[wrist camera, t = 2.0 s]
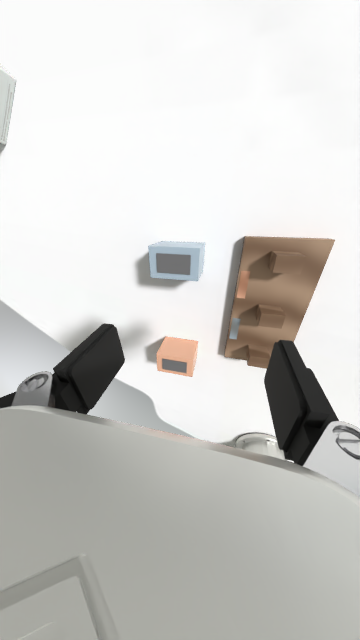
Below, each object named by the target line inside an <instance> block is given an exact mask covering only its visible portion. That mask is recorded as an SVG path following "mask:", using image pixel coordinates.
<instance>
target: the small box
mask: <svg viewBox="0 0 360 640" xmlns="http://www.w3.org/2000/svg"><path fill="white" fill-rule="evenodd" d="M15 85H16V79H15V78H14V77H13V76H12V75H11V74H10V73H9V72H8V71H7V70H6V69H5V68H4V67H3V66H2V65H1V64H0V143H2V144H5V145H6V142H7V136H8V129H9V123H10V117H11V110H12V104H13V97H14V91H15Z"/></svg>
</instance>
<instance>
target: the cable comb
mask: <svg viewBox="0 0 360 640" xmlns="http://www.w3.org/2000/svg"><path fill="white" fill-rule="evenodd" d="M334 241H335V240H333V239H322V238H288V237H254V236H245V238H244V243H243V249H242V255H241V261H240V266H239V272H238V278H237V284H236V290H235V295H234V301H233V307H232V313H231V318H230V324H229V330H228V336H227V342H226V347H225V357H229V358H235V359H242V360H247V364H248V366H254V367H260V368H266V369H267V367H268V364H269V360H270V357H271V353H272V350H273V346H274V343H275V342H278V341H279V340H289V341H293V342H294V340H295V337H296V335H297V332H298V330H299V327H300V325H301V323H302V320H303V318H304V315H305V313H306V310H307V308H308V305H309V303H310V300H311V298H312V296H313V293H314V291H315V288H316V286H317V283H318V281H319V278H320V276H321V273H322V271H323V269H324V266H325V264H326V261H327V259H328V256H329V254H330V251H331V249H332V246H333V244H334Z"/></svg>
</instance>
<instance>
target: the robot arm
mask: <svg viewBox="0 0 360 640" xmlns="http://www.w3.org/2000/svg"><path fill="white" fill-rule="evenodd" d="M124 361H125V358H124V354H123V351H122V347H121V343H120V339H119V336H118V332H117V329H116V327H114V325H112V324H102V325H101V326H100V327H99V328H98V329H97V330H96V331H95V332H93V333H92V334H91V335H90V336H89V337H88V338H87V339H86V340H84V341H83V342H82V343H81V344H80V345H79V346H78V347H77V348H75V349H74V350H73V351H72V352H71V353H70V354H69V355H68V356H67V357H65V358H64V359H63V360H62V361H61V362H60V363H59V364H58V365H56V366H55V367H54V368H53V370H54V372H55V373H54V374H51V373H50V372H47V371H45V372H39V373H36V374H33V375H31V376H30V377H28V378H26V379H25V380H24V381H23V382H22V383H21V384H20V385H19V387H18V388H17V391H16V392H14V393H11V394H9V395H6V396H4V397H1V398H0V640H360V429H359V428H358V427H356V426H354V425H352V424H349V423H346V422H342V421H339V420H338V418H337V416H336V414H335V412H334V411H333V409H332V407H331V405H330V403H329V401H328V399H327V398H326V396H325V394H324V392H323V390H322V388H321V386H320V384H319V383H318V381H317V379H316V377H315V375H314V373H313V372H312V370H311V369H309V368H306V366H305V364H304V362H303V360H302V358H301V356H300V354H299V352H298V351H297V349H296V347H295V345H294V343H293V341H289V340H279V341H278V342H275V343H274V346H273V350H272V353H271V357H270V360H269V364H268V367H267V371H266V375H265V379H264V383H265V388H266V392H267V397H268V402H269V406H270V411H271V415H272V420H273V425H274V429H275V434H276V437H273V436H270V435H266V434H259V433H253V434H246V435H243V436H241V437H239V438H238V439H237V441H236V448H235V447H231V446H226V445H222V444H218V443H213V442H209V441H204V440H200V439H195V438H191V437H187V436H182V435H178V434H173V433H169V432H164V431H159V430H155V429H151V428H146V427H141V426H136V425H132V424H127V423H123V422H118V421H114V420H109V419H104V418H100V417H95V416H90V415H86V414H87V413H88V412H89V410H90V409H92V408H93V407H94V406H95V404H96V403H97V401H98V400H99V399H100V397H101V396H102V394H103V393H104V391H105V390H106V389H107V387H108V385H109V384H110V383H111V381H112V380H113V378H114V377H115V375H116V374H117V373H118V371H119V370H120V368H121V367H122V365H123V364H124ZM76 411H77V412H76ZM287 460H292V461H294V463H292V462H289V461H287Z"/></svg>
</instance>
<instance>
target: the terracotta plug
mask: <svg viewBox="0 0 360 640" xmlns="http://www.w3.org/2000/svg"><path fill="white" fill-rule="evenodd" d="M197 347H198V341H194V340H187V339H180V338H173V337H165V339H164V340H163V342H162V344H161V346H160V348H159V350H158V352H157V354H156V355H157V369H158V371H163V372H168V373H173V374H179V375H184V376H189V377H192V376H193V371H194V367H195V363H196V358H197Z"/></svg>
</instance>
